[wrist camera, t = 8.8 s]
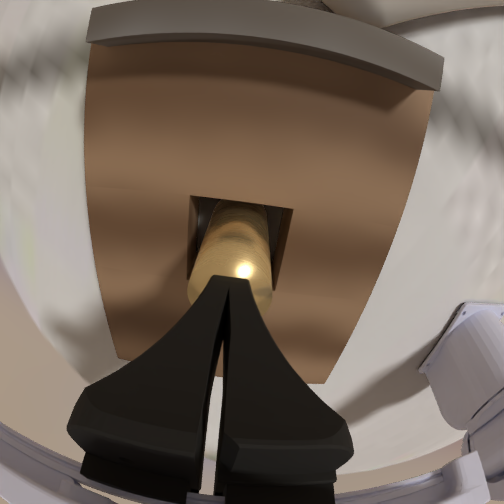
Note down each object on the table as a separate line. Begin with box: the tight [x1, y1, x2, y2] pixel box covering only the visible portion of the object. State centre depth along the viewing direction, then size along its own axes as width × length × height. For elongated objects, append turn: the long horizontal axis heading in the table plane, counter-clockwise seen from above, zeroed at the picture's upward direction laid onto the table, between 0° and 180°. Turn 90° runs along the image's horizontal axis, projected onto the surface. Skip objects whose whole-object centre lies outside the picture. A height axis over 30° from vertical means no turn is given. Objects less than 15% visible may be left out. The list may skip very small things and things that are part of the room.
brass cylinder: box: [187, 199, 272, 316], centre depth 14 cm, size 3×3×7 cm
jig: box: [84, 0, 444, 384], centre depth 15 cm, size 22×16×5 cm
